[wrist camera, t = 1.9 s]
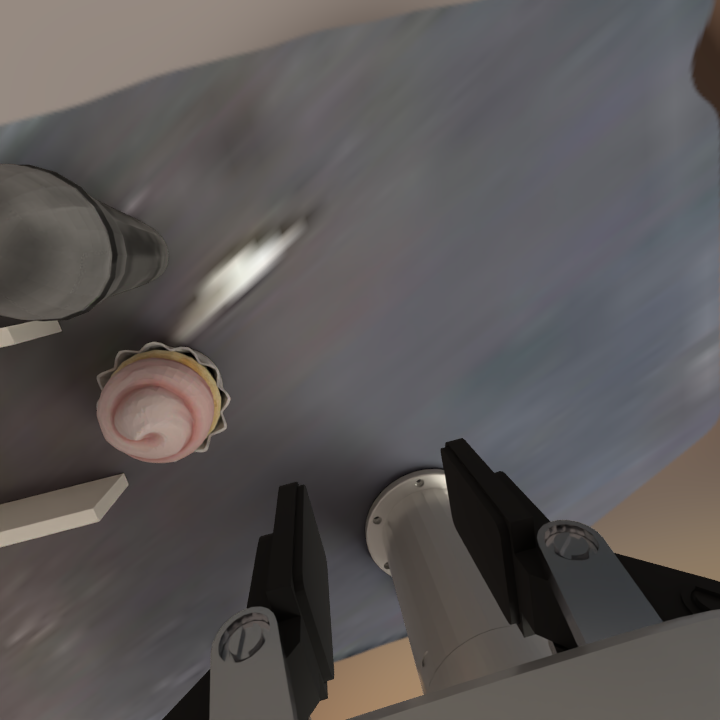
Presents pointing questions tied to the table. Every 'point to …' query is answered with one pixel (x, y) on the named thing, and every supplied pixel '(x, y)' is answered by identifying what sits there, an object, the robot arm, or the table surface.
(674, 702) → the robot arm
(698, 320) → the table surface
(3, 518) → the box
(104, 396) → the cupcake
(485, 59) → the table surface
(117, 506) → the table surface
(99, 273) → the beverage cup
